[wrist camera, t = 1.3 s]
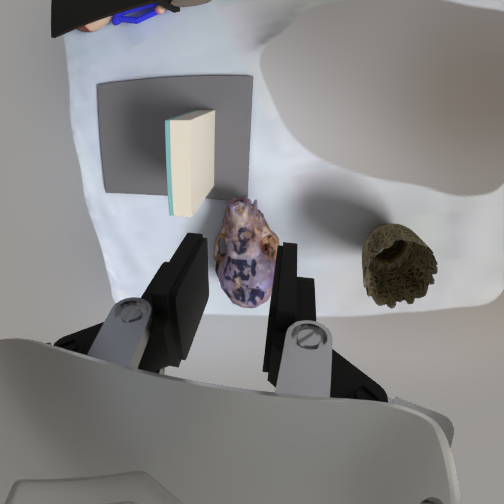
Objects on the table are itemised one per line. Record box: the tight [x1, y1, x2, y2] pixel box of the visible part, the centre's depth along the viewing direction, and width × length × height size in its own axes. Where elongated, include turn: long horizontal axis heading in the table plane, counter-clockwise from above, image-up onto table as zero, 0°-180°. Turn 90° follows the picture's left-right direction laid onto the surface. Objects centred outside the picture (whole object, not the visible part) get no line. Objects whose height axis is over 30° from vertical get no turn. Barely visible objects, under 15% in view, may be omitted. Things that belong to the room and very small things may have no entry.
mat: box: [98, 76, 253, 200], centre depth 31 cm, size 13×17×1 cm
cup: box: [362, 224, 438, 308], centre depth 30 cm, size 8×7×8 cm
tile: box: [165, 110, 215, 217], centre depth 27 cm, size 8×2×8 cm, turn 177°
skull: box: [213, 197, 279, 308], centre depth 34 cm, size 12×8×6 cm, turn 177°
